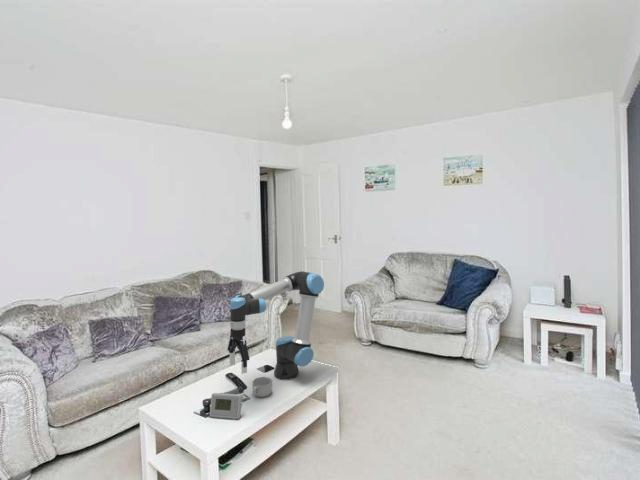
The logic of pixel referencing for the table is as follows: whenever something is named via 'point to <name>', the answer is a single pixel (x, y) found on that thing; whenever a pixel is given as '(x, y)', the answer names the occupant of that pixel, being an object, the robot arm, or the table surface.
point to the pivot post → (205, 411)
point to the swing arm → (236, 391)
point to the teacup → (262, 386)
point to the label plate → (245, 397)
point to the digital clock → (225, 405)
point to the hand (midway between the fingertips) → (238, 368)
